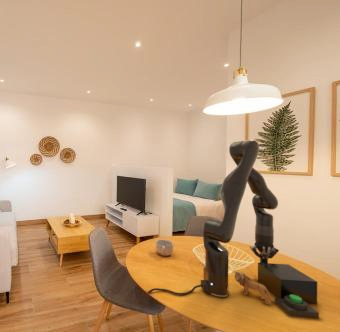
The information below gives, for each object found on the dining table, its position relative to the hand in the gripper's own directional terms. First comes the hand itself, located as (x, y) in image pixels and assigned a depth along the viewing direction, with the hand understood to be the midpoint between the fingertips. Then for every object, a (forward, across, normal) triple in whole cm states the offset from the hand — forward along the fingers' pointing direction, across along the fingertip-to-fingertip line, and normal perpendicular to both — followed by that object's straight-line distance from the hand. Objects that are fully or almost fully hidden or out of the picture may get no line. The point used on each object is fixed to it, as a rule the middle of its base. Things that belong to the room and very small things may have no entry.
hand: (263, 265), depth 112 cm
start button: (+2, +5, +27) cm, 28 cm away
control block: (+5, +5, +27) cm, 28 cm away
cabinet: (+5, 0, +14) cm, 15 cm away
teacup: (+6, +47, -20) cm, 51 cm away
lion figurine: (+6, +17, +20) cm, 27 cm away
